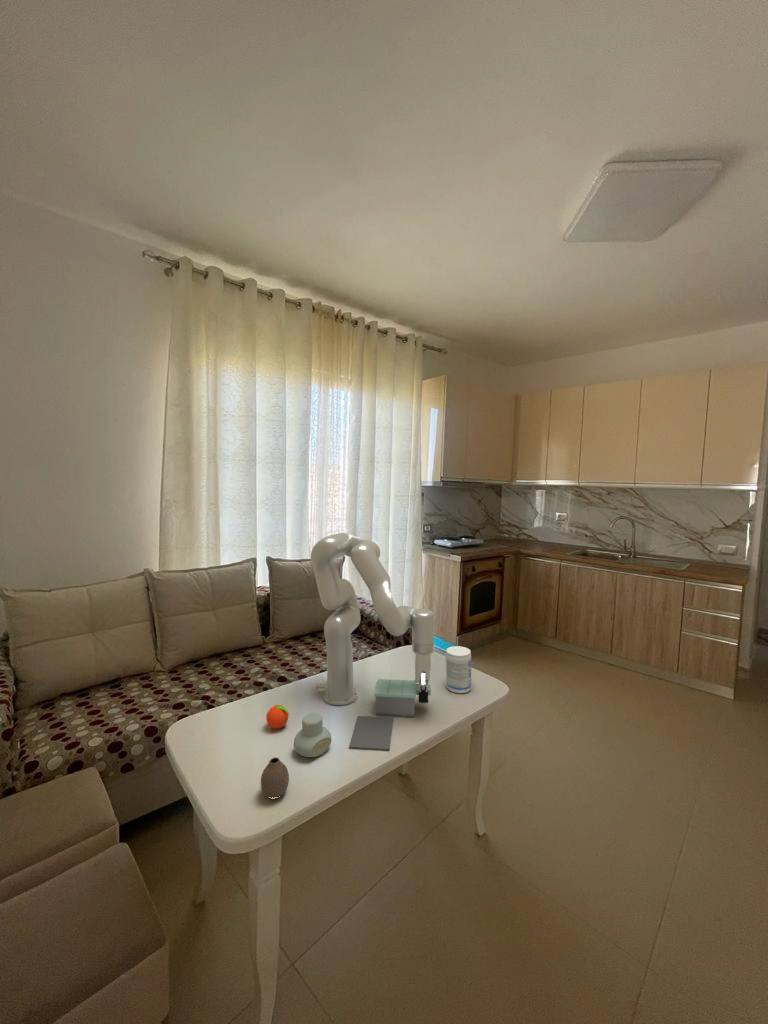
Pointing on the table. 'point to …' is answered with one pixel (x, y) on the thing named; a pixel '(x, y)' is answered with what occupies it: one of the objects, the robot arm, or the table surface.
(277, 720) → the clementine
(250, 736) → the table surface
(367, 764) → the table surface
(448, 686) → the supplement tub
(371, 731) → the mat
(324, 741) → the air freshener
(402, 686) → the lid
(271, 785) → the vase
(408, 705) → the tub
